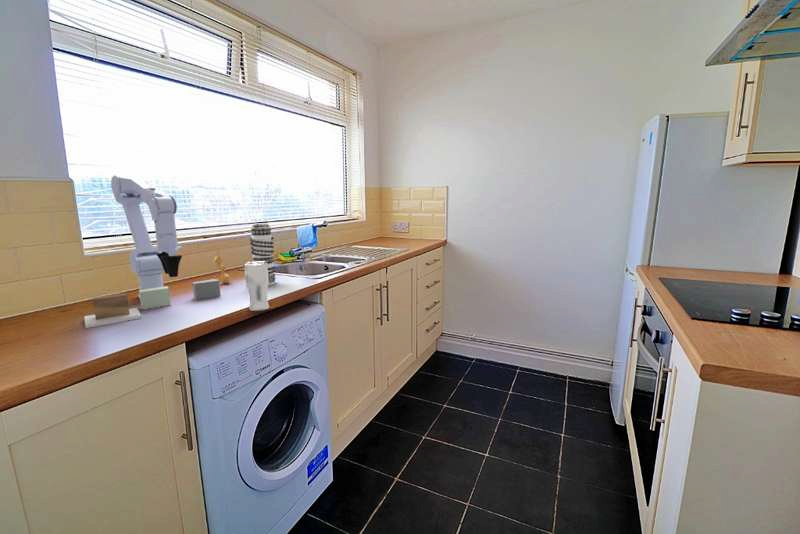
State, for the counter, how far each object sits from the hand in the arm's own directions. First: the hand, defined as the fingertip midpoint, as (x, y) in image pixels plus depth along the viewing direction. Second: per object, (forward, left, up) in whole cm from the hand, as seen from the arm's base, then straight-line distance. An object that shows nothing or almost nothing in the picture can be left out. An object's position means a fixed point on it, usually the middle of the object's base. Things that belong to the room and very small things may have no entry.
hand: (171, 275), depth 125 cm
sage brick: (-3, -5, -10) cm, 12 cm away
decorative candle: (-11, +35, -11) cm, 38 cm away
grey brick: (-4, +11, -10) cm, 16 cm away
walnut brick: (+4, -17, -9) cm, 20 cm away
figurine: (-23, +22, -11) cm, 34 cm away
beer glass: (+23, +20, -11) cm, 32 cm away
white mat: (+4, -17, -10) cm, 20 cm away
